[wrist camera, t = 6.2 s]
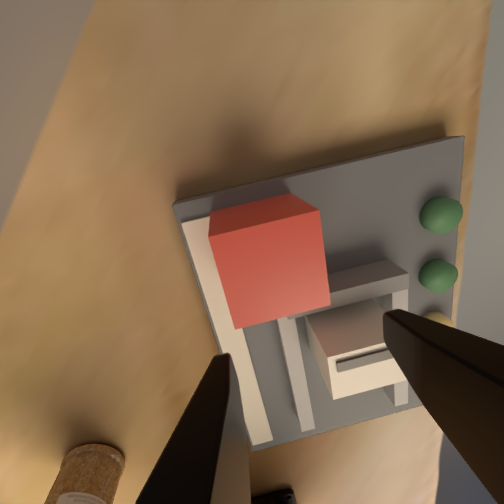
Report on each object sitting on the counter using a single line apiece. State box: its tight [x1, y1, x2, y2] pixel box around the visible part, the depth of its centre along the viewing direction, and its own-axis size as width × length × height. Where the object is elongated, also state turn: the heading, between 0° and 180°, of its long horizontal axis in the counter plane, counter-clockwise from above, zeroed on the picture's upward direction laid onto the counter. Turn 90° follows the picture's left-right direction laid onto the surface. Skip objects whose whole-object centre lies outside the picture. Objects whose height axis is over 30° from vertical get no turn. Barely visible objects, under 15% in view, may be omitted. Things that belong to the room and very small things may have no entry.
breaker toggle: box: [304, 298, 407, 400], centre depth 16 cm, size 3×4×4 cm
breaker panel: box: [172, 136, 465, 452], centre depth 18 cm, size 20×16×3 cm
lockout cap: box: [208, 193, 331, 330], centre depth 13 cm, size 4×4×4 cm
